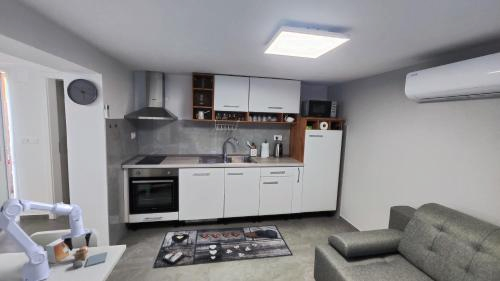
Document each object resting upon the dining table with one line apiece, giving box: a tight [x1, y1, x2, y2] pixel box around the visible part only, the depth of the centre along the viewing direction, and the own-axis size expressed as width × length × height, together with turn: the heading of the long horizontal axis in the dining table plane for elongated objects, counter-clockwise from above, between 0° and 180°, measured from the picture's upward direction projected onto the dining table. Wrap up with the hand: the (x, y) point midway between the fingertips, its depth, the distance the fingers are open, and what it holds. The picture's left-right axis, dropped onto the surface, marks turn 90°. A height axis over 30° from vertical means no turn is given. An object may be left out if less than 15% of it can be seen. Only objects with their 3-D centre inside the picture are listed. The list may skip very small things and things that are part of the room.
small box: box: [45, 237, 70, 264], centre depth 129 cm, size 8×6×10 cm
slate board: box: [85, 251, 108, 268], centre depth 128 cm, size 9×9×1 cm
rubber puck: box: [72, 260, 83, 270], centre depth 122 cm, size 4×4×3 cm
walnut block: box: [73, 248, 88, 262], centre depth 129 cm, size 4×4×5 cm
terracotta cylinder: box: [78, 245, 89, 254], centre depth 135 cm, size 4×4×3 cm
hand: (79, 247), depth 128 cm, fingers open, 7 cm apart
